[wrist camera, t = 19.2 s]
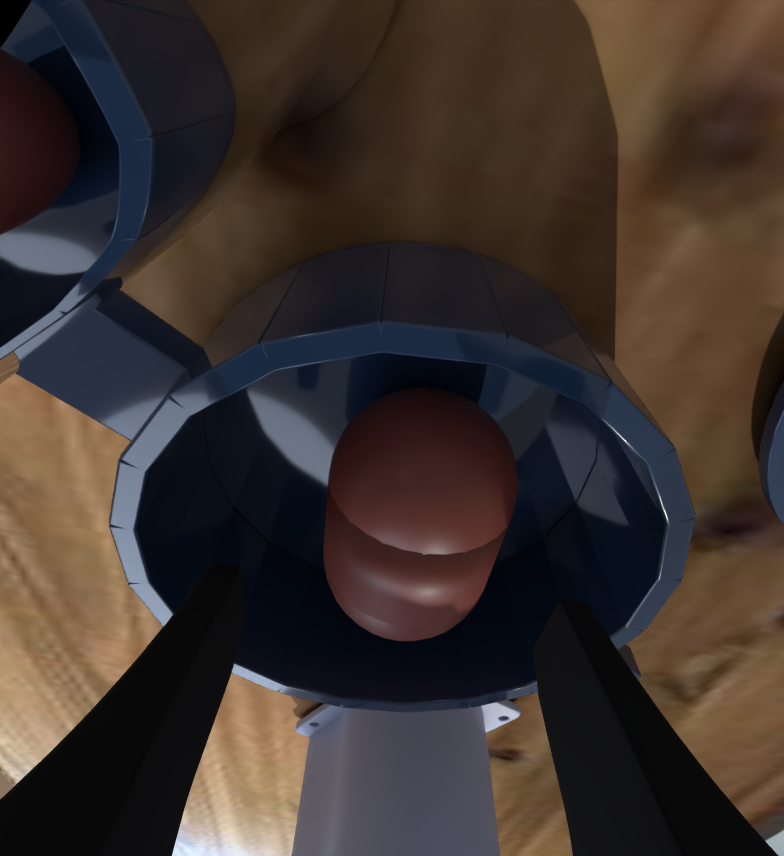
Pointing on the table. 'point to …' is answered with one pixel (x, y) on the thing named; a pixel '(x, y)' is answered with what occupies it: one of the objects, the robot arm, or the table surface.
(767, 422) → the pan lid
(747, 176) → the table surface
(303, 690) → the pan
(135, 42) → the beer glass
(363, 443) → the red ribbed oval
